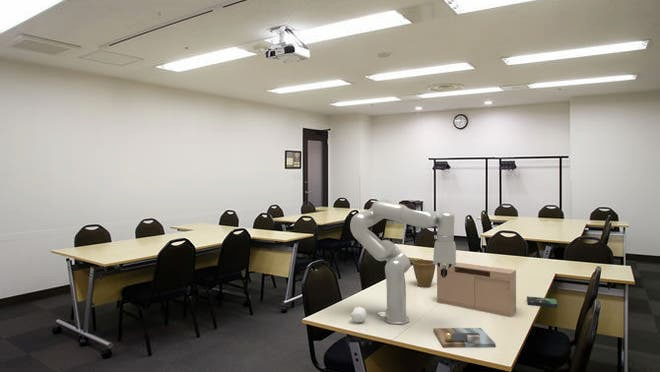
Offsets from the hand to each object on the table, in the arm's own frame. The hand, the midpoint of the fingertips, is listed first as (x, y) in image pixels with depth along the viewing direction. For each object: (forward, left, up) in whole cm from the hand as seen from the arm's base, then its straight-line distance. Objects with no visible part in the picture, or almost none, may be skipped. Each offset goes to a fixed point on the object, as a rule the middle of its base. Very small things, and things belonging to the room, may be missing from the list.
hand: (443, 277), depth 198 cm
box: (+24, +29, -25) cm, 45 cm away
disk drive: (+63, +35, -25) cm, 76 cm away
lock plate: (+5, -14, -24) cm, 28 cm away
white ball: (-40, +8, -25) cm, 48 cm away
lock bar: (+3, -20, -23) cm, 30 cm away
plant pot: (+6, +73, -25) cm, 78 cm away
